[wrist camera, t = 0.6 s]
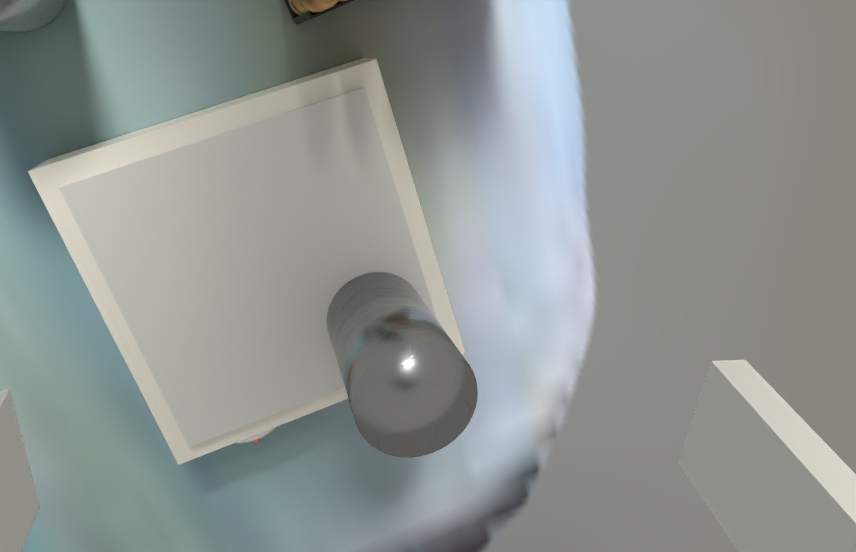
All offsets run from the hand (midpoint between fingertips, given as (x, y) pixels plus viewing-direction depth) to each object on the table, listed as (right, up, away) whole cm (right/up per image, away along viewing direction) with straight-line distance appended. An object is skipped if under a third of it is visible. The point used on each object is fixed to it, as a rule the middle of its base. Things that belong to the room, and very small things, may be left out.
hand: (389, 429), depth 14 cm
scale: (-8, +4, +24) cm, 26 cm away
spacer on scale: (-2, +1, +22) cm, 22 cm away
